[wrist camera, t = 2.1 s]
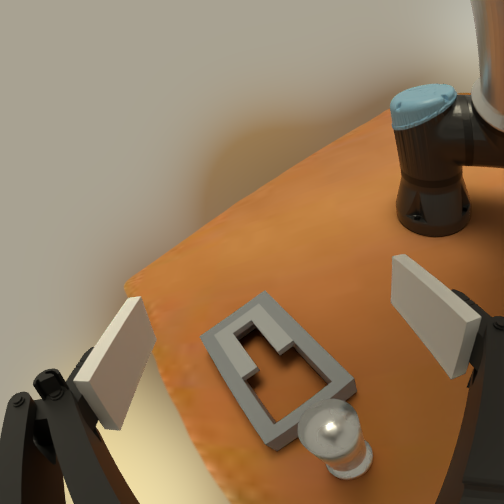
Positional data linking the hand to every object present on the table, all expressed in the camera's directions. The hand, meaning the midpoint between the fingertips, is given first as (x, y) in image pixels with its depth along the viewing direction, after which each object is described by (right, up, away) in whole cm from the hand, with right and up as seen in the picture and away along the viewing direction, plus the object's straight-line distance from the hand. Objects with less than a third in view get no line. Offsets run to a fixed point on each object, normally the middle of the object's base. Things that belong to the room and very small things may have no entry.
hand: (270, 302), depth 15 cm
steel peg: (+10, -20, +11) cm, 25 cm away
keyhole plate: (+2, -13, +24) cm, 28 cm away
